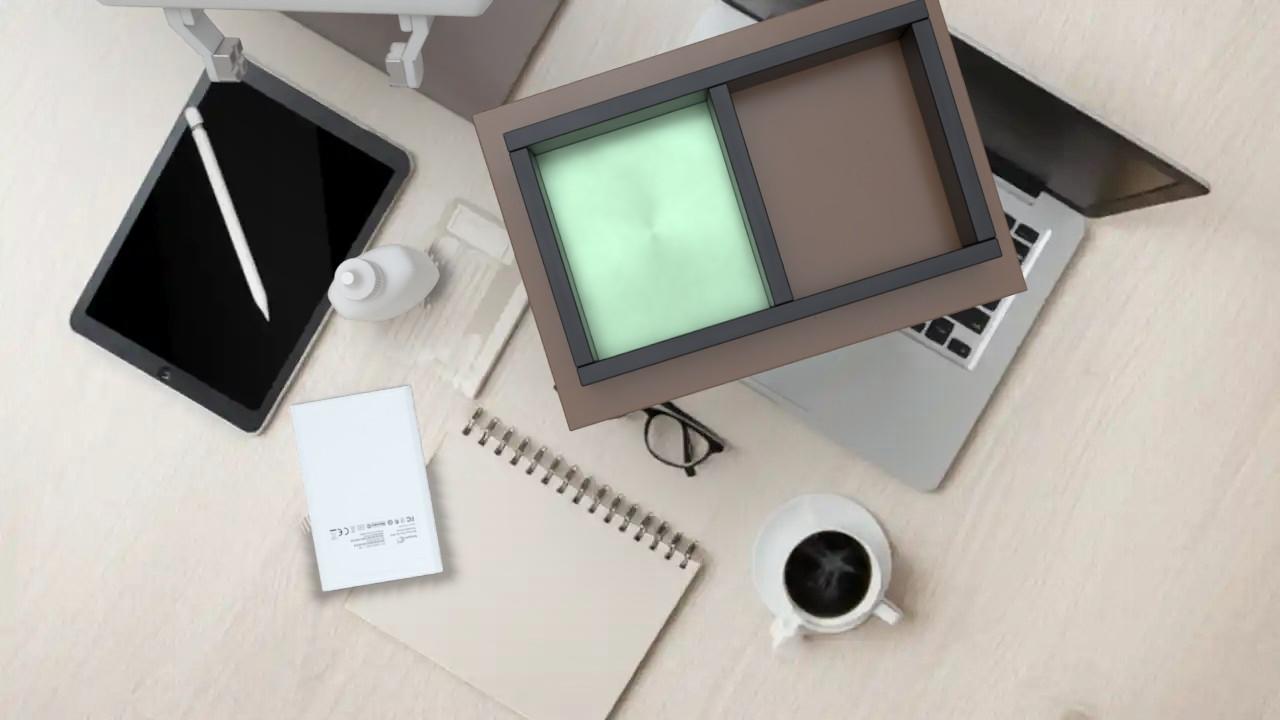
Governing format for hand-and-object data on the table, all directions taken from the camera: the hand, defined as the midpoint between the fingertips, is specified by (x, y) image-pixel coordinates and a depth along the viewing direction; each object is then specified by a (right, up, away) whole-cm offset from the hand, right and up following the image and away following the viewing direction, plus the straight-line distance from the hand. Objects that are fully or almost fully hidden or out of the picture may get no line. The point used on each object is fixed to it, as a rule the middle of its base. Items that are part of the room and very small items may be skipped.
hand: (318, 79), depth 57 cm
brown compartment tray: (+21, -8, -10) cm, 25 cm away
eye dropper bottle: (+1, -10, +15) cm, 18 cm away
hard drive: (-1, -23, +16) cm, 28 cm away
